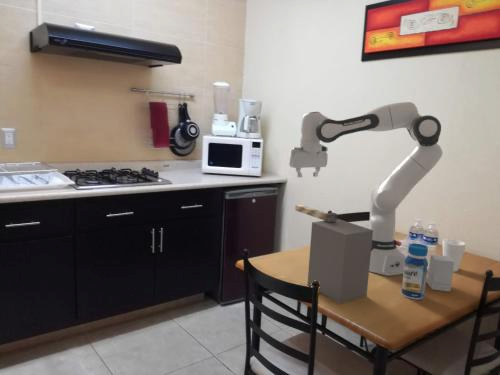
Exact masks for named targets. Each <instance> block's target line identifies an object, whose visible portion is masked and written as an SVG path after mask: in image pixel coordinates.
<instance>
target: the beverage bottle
mask: <svg viewBox="0 0 500 375" xmlns="http://www.w3.org/2000/svg"><path fill="white" fill-rule="evenodd" d="M428 250H429V247H428V246H427V245H424V244H421V243H409V245H408V248H407V253H408V255H407V256H406V257H407V258H406V259H405V266H404V274H402V284H401V285H402V286H401V290H400V291H401V292H400V293H401V294H402V296H403V297H405V298H408V299H411V300H422V299H423V298H424V297H425V289H426V284H427V281H426V280H427V277H428V272H429V269H428V268H429V263H428V259H427V258H426V257H427V255H428V252H429V251H428Z"/></svg>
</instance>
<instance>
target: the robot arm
mask: <svg viewBox="0 0 500 375" xmlns="http://www.w3.org/2000/svg"><path fill="white" fill-rule="evenodd" d="M301 120H302V121H301V127H300V132H301V138H300V143H299V147H295V146H294V147H293V148H292V149H291V151H290V158H289V164H288V165H289V167H290V168H292V169H294V168H295V171H296V174H297V178H303V173H302V172H301V171H302V168H306V169H307V168H314V169H315V171H314V172H312V174H313V175H312V177H315V178H316V177H317V178H318V177H319V172H320V171H321V168H326V167H327V165H328V150H329V148H328V146H325V145H323V144H321V142H322V143H324V144H325V143H326V144H327V143H328V144H329V143H332V142H335V141H336V140H338V139H339V138H340V137H342V136H345V135H349V134H355V133H358V132H369V131H370V132H388V131H392V130H397V129H406V130H407V132H408V134H409V135H410V138H412V139H413V141H415V142H416V146H415V148H414V149H413V150H412V151H411V152H410V153H409V154H408V155H407V156H406V157H404V159H403V160H402V161H401V162H400V163H399V164H398V165H397V166H396V167H395V168H394V169H393V170H392V172H391V173H390V174H389V176H388V177H387V178H386V180H384V181H381V182H380V181H379V182H378V183H376V184H375V185H374V186H373V187H372V189H371V192H370V204H369V206H370V207H369V220H368V221H369V225H368V229H371V230H373V237H372V247H371V257H370V267H369V273H370V272H371V273H373V274H379V275H383V276H386V277H391V276H399V275H403V274H404V266H405V259H406V258H407V256H406V254H404V253H403V252H402V251H401V250H400V249H398V248H397V247H401V246H402V242H401V241H400V240H396V239H395V231H396V209H397V208H398V207H399V205H400V204H401V203H402V202H403V201H404V199H405V198H406V197H407V196H408V195H409V194H410V192H411V191H412V189H413V188H414V187H415V186H416V185H417V184H418V183H419V182H421V180H423V179H424V178H425V176H426V175H428V173H429V172H430V171H432V169H433V168H434V167H435V166H436V165H437V164H438V162H439V161H440V160H441V158H442V156H443V149H442V147H441V146H440V145H439V144H438V142H439V139H440V135H441V132H442V124H441V122H440V120H439V119H438V118H437V117H435V116H433V115H430V114H429V115H428V114H427V115H420V113H419V111H418V107H417V106H416V104H415V103H413V102H411V101H402V102H401V101H400V102H395V103H390V104H385V105H381V106H379V107H376V108H374V109H372V110H370V111H368V112H366V113H364V114H362V115H359V116H356V117H355V116H354V117H351V118H347V119H346V118H345V119H342V120H336V119H332V118H329V117H328V116H325V115H324V114H322V112H320V111H310V112H306V113H305V114H304V115H303V116H302V119H301Z"/></svg>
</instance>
